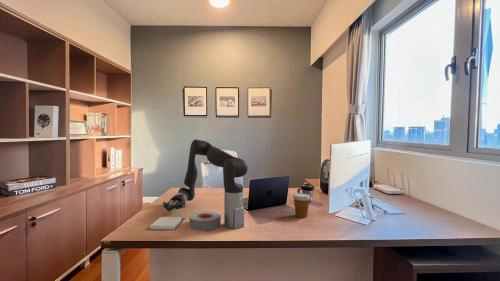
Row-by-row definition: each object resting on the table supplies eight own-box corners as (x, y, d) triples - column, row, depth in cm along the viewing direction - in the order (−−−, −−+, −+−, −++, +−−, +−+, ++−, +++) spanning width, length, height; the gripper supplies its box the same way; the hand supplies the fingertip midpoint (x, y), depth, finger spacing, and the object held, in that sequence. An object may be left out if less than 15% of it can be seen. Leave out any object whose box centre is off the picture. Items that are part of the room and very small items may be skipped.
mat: (186, 218, 139) (186, 217, 139) (176, 231, 121) (176, 230, 121) (160, 218, 139) (160, 217, 139) (146, 230, 121) (146, 229, 121)
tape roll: (187, 222, 133) (187, 212, 133) (216, 219, 139) (216, 209, 139) (191, 233, 119) (191, 222, 119) (224, 229, 125) (224, 218, 124)
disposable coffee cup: (290, 217, 143) (290, 195, 143) (295, 212, 152) (296, 192, 151) (307, 219, 139) (307, 197, 138) (311, 215, 147) (312, 194, 147)
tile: (181, 217, 134) (173, 226, 121) (181, 220, 135) (173, 229, 122) (160, 216, 135) (150, 225, 122) (160, 220, 135) (150, 229, 122)
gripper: (167, 193, 149) (155, 201, 132) (190, 194, 149) (181, 202, 131) (167, 206, 149) (155, 216, 132) (190, 207, 149) (181, 216, 131)
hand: (168, 209), depth 132 cm, fingers closed
